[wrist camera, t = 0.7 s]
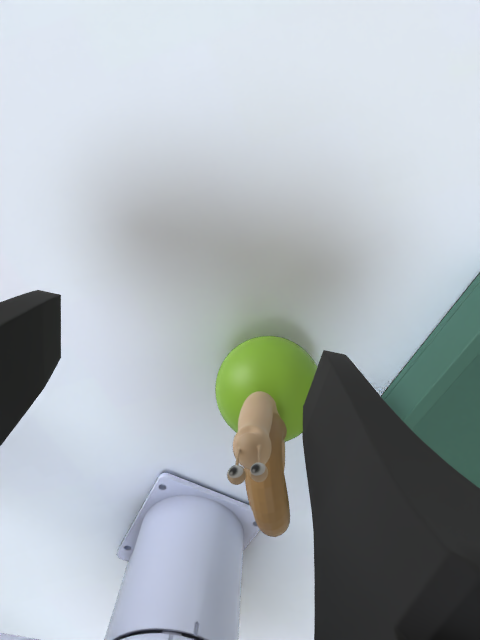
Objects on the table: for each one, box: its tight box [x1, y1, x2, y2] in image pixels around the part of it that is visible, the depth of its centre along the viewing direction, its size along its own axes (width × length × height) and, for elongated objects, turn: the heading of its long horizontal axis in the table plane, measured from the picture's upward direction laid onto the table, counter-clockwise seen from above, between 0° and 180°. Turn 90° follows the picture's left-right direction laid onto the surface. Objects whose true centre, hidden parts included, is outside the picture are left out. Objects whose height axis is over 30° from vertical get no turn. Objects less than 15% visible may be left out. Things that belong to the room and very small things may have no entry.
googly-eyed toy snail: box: [215, 336, 317, 537], centre depth 19 cm, size 5×6×12 cm
